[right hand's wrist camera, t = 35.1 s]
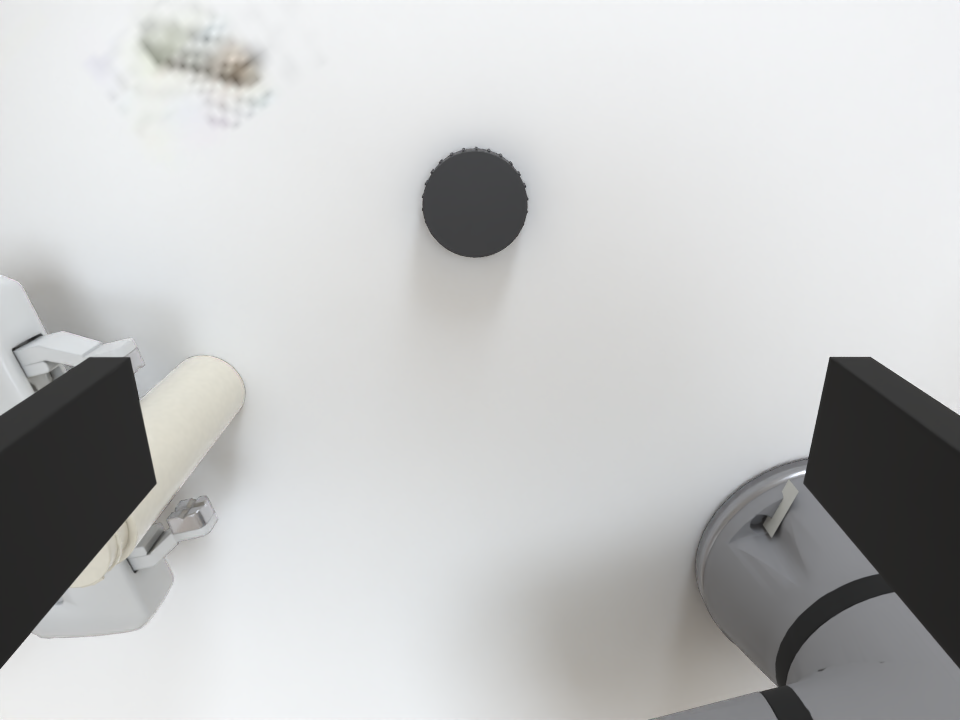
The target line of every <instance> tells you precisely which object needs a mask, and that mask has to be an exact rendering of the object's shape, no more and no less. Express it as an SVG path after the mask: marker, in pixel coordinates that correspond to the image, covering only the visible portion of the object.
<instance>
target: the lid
mask: <svg viewBox="0 0 960 720" xmlns="http://www.w3.org/2000/svg"><path fill="white" fill-rule="evenodd" d="M439 163H440V164H439V165H438V166H437V167H436V168H435V170H434V169H433V170H432V171H431V176H430V178H429V180H427V181H426V183H425V185H426V187H425V190H424V194H423V195H422V198H423V208H422V211H423V213H424V218H425V223H426V224H427V226H428V228H429V230H430V232H431V234H432V235H433V237H434V238H435V239H436V240H437V241H438V242H439V243H440V244H441V245H442V246H443V247H445V248H446V249H448V250H449V251H451V252H453V253H456V254H458V255H461V256H466V257H484V256H489V255H492V254H495V253H497V252H499V251H501V250H502V249H504V248H506V247H507V246H508V245H509V244H510V243H511V242H512V241H513V240H514V239H515V238H516V237H517V236H518V234H519V232H520V231H521V229H522V227H523V226H524V222H525V218H526V214H527V213H528V211H527V200H528V197H527V195H526V190H525V188H526V185H525V183H523V182H522V180H521V178H520V175H521V174H520V173H519V171H518V172H517V171H516V169H515V168H514V167H513V166H512V165H513V164H512V162H511V161H510V162H508V161H507V160H506V159H505V158H503V157H502V154H499V155H498V154H497V153H494V152H492V151H490V149H488V150H485V149H477V147H475V149H466V150H465V148H463V149H462V150H461V151H458V152H456V153H454V154H453V152H452V153H451V154H450V156H448V157H447V158H445V159H444V160H440V162H439Z"/></svg>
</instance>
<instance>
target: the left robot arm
mask: <svg viewBox="0 0 960 720" xmlns="http://www.w3.org/2000/svg"><path fill="white" fill-rule="evenodd" d="M89 357H130V358H131V363H132V368H133V372H134V373H136V372H137V371H138V368H142V367H143V366H144V365H145V363H144V361H143V359H142V356H141V354H140V352H139V350H138V348H137V346H136V344H135V341H134V339H133V338H126V339H122V340H118V341H114V342H110V343H106V344H102V342H100V341H97V340H93V339H90V338H86V337H83V336H79V335H76V334H73V333H69V332H66V331H60V332H56V333H52V334H47V332H46V330H45V328H44V326H43V324H42V323H41V321H40V319H39V317H38V315H37V313H36V311H35V309H34V307H33V305H32V303H31V301H30V299H29V297H28V295H27V294H26V292H25V290H24V288H23V286H22V285H21V284H20V283H19V282H18V281H16V280H13V279H11V278H9V277H6V276H3V275H0V415H2V414H3V413H5V412H6V411H8V410H10V409H11V408H13V407H14V406H16V405H17V404H19V403H20V402H22V401H23V400H25V399H26V398H28V397H29V396H31V395H32V394H34V393H35V392H37V391H38V390H40V389H42V388H43V387H45V386H46V385H48V384H49V383H51V382H52V381H54V380H55V379H57V378H58V377H60V376H61V375H63V374H64V373H66V372H67V370H66V368H65V367H64V365H69V366H73V367H75V366H77V365H78V364H80V363H81V362H83V361H84V360H86V359H87V358H89ZM63 364H64V365H63ZM217 521H218V518H217V515H216V513H215V511H214V509H213V507H212V505H211V503H210V501H209V499H208V497H207V496H200V497H199V498H198V499H197V500H195V499H192V498H191V499H186V500H182V501H180V502H179V504H178V505H177V506H176V508H175V512H172V513H171V514H170V516H169V517H168V518H167V522H168V524H169V527H170V528H169V529H168V530H167V531H164V527H163V525H162V524H160V523H157V524H153V525H152V527H151V528H150V529H149V531H148V532H147V533H146V535H145V536H144V537H143V539H142V540H141V541H140V542H139V544H138V545H137V546H136V548H135V549H134V550H133V552H132V553H131V554H130V556H129V557H127V558H126V559H125V560H124V561H122V562H121V563H119V564H117V565H115V566H114V567H113V568H112V570H111V571H109V572H107V573H106V574H105V575H104V577H105V578H104V580H102V581H100V582H99V583H97V584H95V585H91V586H88V587H84V588H81V587H79V588H68V589H67V591H66V592H65V593H64V594H63V595H62V597H61V598H60V599H59V600H58V601H57V602H56V604H55V605H54V606H53V607H52V608H51V610H50V611H49V612H48V613H47V614H46V615H45V617H44V618H43V619H42V620H41V621H40V623H39V624H38V625H37V626H36V627H35V629H34V630H33V631H32V632H31V633H33V634H35V635H37V636H39V637H41V638H73V637H90V636H102V635H111V634H119V633H125V632H131V631H135V630H138V629H140V628H142V627H144V626H145V625H146V624H147V623H148V622H149V621H150V620H151V618H152V617H153V616H154V615H155V613H156V612H157V610H158V609H159V607H160V606H161V605H162V603H163V601H164V599H165V598H166V596H167V594H168V592H169V590H170V588H171V586H172V584H173V581H174V576H173V573H172V571H171V569H170V567H169V565H168V563H167V561H166V559H165V556H166V555H167V554H168V553H169V552H170V551H171V550H172V549H173V548H174V547H175V546H176V545H177V544H178V543H179V542H180V541H184V540H189V539H193V538H198V537H202V536H204V535H206V534H208V533H209V532H210V531H211V530H212V529H213V527H214V525H215V524H216V522H217Z"/></svg>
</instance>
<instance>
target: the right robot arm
mask: <svg viewBox="0 0 960 720" xmlns="http://www.w3.org/2000/svg"><path fill="white" fill-rule="evenodd" d="M156 484H157V481H156V477H155V472H154V467H153V463H152V458H151V453H150V448H149V444H148V439H147V434H146V429H145V425H144V420H143V415H142V410H141V406H140V401H139V396H138V391H137V387H136V382H135V377H134V372H133V368H132V363H131V358H130V357H89V358H87V359H86V360H84V361H83V362H81V363H80V364H78V365H77V366H75V367H74V368H72V369H70V370H69V371H67V372H66V373H64V374H63V375H61V376H60V377H58V378H57V379H55V380H54V381H52V382H51V383H49V384H48V385H46V386H45V387H43V388H42V389H40V390H38V391H37V392H35V393H34V394H32V395H31V396H29V397H28V398H26V399H25V400H23V401H22V402H20V403H19V404H17V405H16V406H14V407H13V408H11V409H10V410H8V411H6V412H5V413H3V414H2V415H0V669H1V668H2V666H3V665H4V664H5V663H6V662H7V660H8V659H9V658H10V657H11V656H12V655H13V653H14V652H15V651H16V650H17V649H18V647H19V646H20V645H21V644H22V643H23V642H24V640H25V639H26V638H27V637H28V636H29V634H30V633H31V632H32V631H33V630H34V629H35V627H36V626H37V625H38V624H39V623H40V621H41V620H42V619H43V618H44V617H45V615H46V614H47V613H48V612H49V611H50V610H51V608H52V607H53V606H54V605H55V604H56V602H57V601H58V600H59V599H60V598H61V597H62V595H63V594H64V593H65V592H66V591H67V589H68V588H69V587H70V586H71V585H72V583H73V582H74V581H75V580H76V579H77V578H78V576H79V575H80V574H81V573H82V572H83V570H84V569H85V568H86V567H87V566H88V565H89V563H90V562H91V561H92V560H93V559H94V557H95V556H96V555H97V554H98V553H99V552H100V550H101V549H102V548H103V547H104V546H105V544H106V543H107V542H108V541H109V540H110V538H111V537H112V536H113V535H114V534H115V533H116V531H117V530H118V529H119V528H120V527H121V525H122V524H123V523H124V522H125V521H126V520H127V518H128V517H129V516H130V515H131V514H132V512H133V511H134V510H135V509H136V508H137V506H138V505H139V504H140V503H141V502H142V501H143V499H144V498H145V497H146V496H147V495H148V493H149V492H150V491H151V490H152V489H153V488H154V486H155V485H156ZM696 579H697V584H698V588H699V590H700V593H701V596H702V598H703V600H704V602H705V604H706V607H707V609H708V611H709V613H710V615H711V617H712V619H713V620H714V621H715V623H716V624H717V626H718V627H719V628H720V629H721V631H722V632H723V633H724V634H725V635H726V636H727V638H728V639H729V640H730V641H732V642H733V643H734V644H736V645H737V646H738V647H739V648H740V649H741V650H742V651H743V652H744V654H745V655H746V656H747V657H748V658H749V659H750V660H751V661H752V662H753V663H754V664H755V665H756V666H757V667H758V668H759V669H760V670H761V671H762V672H763V673H764V674H765V675H766V676H767V677H768V678H769V679H770V680H771V681H772V682H773V683H775V684H776V685H777V688H773V689H769V690H765V691H761V692H755V693H751V694H747V695H743V696H739V697H735V698H732V699H728V700H724V701H720V702H716V703H712V704H708V705H705V706H701V707H697V708H693V709H689V710H685V711H681V712H678V713H674V714H670V715H666V716H662V717H658V718H654V719H650V720H960V415H958V414H957V413H955V412H954V411H952V410H950V409H949V408H947V407H946V406H944V405H943V404H941V403H940V402H938V401H937V400H935V399H934V398H932V397H931V396H929V395H928V394H926V393H925V392H923V391H922V390H920V389H918V388H917V387H915V386H914V385H912V384H911V383H909V382H908V381H906V380H905V379H903V378H902V377H900V376H899V375H897V374H896V373H894V372H893V371H891V370H890V369H888V368H886V367H885V366H883V365H882V364H880V363H879V362H877V361H876V360H874V359H873V358H871V357H830V358H829V363H828V368H827V372H826V377H825V382H824V387H823V391H822V396H821V401H820V406H819V410H818V415H817V420H816V425H815V429H814V434H813V439H812V444H811V448H810V453H809V458H808V459H806V460H801V461H797V462H793V463H789V464H786V465H784V466H781V467H778V468H775V469H773V470H771V471H769V472H766V473H764V474H762V475H761V476H759V477H757V478H755V479H753V480H752V481H750V482H749V483H747V484H746V485H744V486H743V487H742V488H740V489H739V490H738V491H736V492H735V493H734V494H733V495H732V496H731V497H730V498H729V499H727V500H726V501H725V503H724V504H723V505H722V506H721V507H720V508H719V509H718V511H717V512H716V513H715V514H714V516H713V517H712V519H711V520H710V522H709V523H708V525H707V527H706V529H705V531H704V533H703V535H702V538H701V540H700V543H699V546H698V550H697V556H696Z"/></svg>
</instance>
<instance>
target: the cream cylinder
mask: <svg viewBox="0 0 960 720" xmlns="http://www.w3.org/2000/svg"><path fill="white" fill-rule="evenodd" d="M244 400H245V388H244V384H243V381H242V379H241V377H240V375H239V374H238V373H237V371H236V370H235V369H234V368H233V367H232V366H230V365H229V364H228V363H226V362H225V361H223V360H221V359H218V358H216V357H212V356H203V355H201V356H194V357H190V358H188V359H186V360H184V361H182V362H181V363H180V364H179V365H178V366H177V367H175V368H174V369H173V370H172V371H171V372H170V373H169V374H168V375H166V376H165V377H164V378H163V379H162V380H161V381H160V382H159V383H158V384H156V385H155V386H154V387H153V388H152V389H151V390H150V391H149V392H148V393H146V394H145V395H144V396H143V397H142V398H141V399H140V400H139V401H140V406H141V410H142V415H143V420H144V425H145V429H146V434H147V439H148V444H149V448H150V453H151V458H152V463H153V467H154V472H155V477H156V481H157V484H156V485H155V486H154V488H153V489H152V490H151V491H150V492H149V493H148V495H147V496H146V497H145V498H144V499H143V501H142V502H141V503H140V504H139V505H138V506H137V508H136V509H135V510H134V511H133V512H132V514H131V515H130V516H129V517H128V518H127V520H126V521H125V522H124V523H123V524H122V525H121V527H120V528H119V529H118V530H117V531H116V533H115V534H114V535H113V536H112V537H111V538H110V540H109V541H108V542H107V543H106V544H105V546H104V547H103V548H102V549H101V550H100V552H99V553H98V554H97V555H96V556H95V557H94V559H93V560H92V561H91V562H90V563H89V565H88V566H87V567H86V568H85V569H84V570H83V572H82V573H81V574H80V575H79V576H78V578H77V579H76V580H75V581H74V582H73V583H72V585H71V586H70V587H69V588H79V587H81V588H84V587H88V586H91V585H95V584H97V583H99V582H100V581H102V580H104V578H105V577H104V575H105V574H106V573H107V572H109V571H111V570H112V568H113V567H114V566H115V565H117V564H119V563H121V562H122V561H124V560H125V559H126V558H127V557H129V556H130V554H131V553H132V552H133V550H134V549H135V548H136V546H137V545H138V544H139V542H140V541H141V540H142V539H143V537H144V536H145V535H146V533H147V532H148V531H149V529H150V528H151V527H152V525H153V524H154V523H155V521H156V520H157V519H158V517H159V516H160V515H161V513H162V512H163V511H164V509H165V508H166V507H167V506H168V504H169V503H170V502H171V500H172V499H173V498H174V496H175V495H176V494H177V492H178V491H179V490H180V488H181V487H182V486H183V484H184V483H185V482H186V480H187V479H188V478H189V477H190V475H191V474H192V473H193V471H194V470H195V469H196V467H197V466H198V465H199V463H200V462H201V461H202V459H203V458H204V457H205V455H206V454H207V453H208V451H209V450H210V449H211V447H212V446H213V445H214V444H215V442H216V441H217V440H218V438H219V437H220V436H221V434H222V433H223V432H224V430H225V429H226V428H227V426H228V425H229V424H230V422H231V421H232V420H233V418H234V417H235V416H236V415H237V413H238V412H239V411H240V409H241V408H242V406H243V403H244Z"/></svg>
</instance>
